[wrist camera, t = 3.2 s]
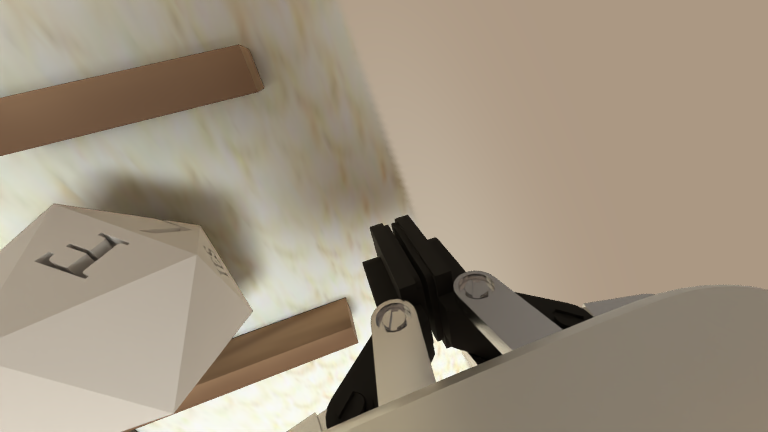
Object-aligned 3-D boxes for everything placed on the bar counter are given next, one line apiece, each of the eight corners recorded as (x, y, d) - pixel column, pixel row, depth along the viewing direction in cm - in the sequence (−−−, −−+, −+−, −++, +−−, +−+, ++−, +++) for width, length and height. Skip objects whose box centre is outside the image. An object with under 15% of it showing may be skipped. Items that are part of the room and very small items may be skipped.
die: (288, 255, 17) (216, 241, 8) (224, 406, 15) (27, 630, 6) (155, 207, 17) (-96, 129, 7) (72, 357, 15) (-401, 514, 5)
